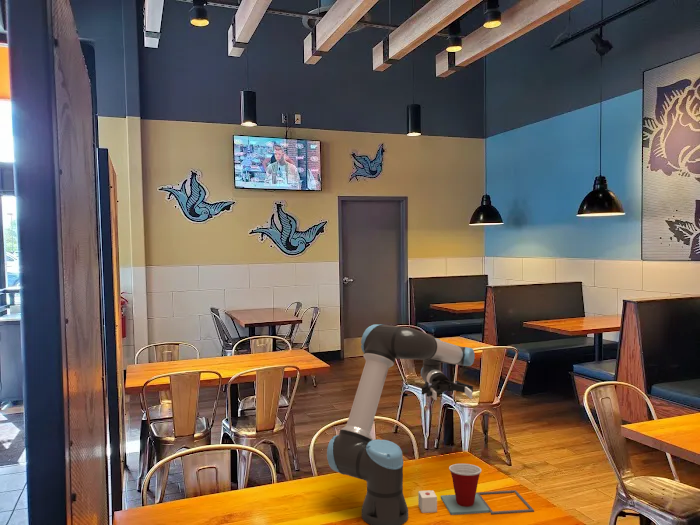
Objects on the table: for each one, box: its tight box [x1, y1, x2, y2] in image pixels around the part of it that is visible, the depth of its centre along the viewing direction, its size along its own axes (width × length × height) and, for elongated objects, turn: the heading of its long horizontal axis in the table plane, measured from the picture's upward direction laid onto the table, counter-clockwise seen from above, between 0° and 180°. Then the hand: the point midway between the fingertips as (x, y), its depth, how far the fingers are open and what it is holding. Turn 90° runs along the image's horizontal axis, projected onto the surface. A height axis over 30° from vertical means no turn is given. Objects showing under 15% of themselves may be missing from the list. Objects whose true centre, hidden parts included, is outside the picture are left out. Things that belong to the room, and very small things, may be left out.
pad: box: [440, 492, 490, 516], centre depth 185 cm, size 13×12×1 cm
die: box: [417, 489, 438, 514], centre depth 182 cm, size 5×5×5 cm
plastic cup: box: [448, 463, 482, 507], centre depth 184 cm, size 11×11×12 cm
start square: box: [476, 489, 535, 515], centre depth 186 cm, size 15×15×1 cm
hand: (453, 395), depth 202 cm, fingers open, 13 cm apart
